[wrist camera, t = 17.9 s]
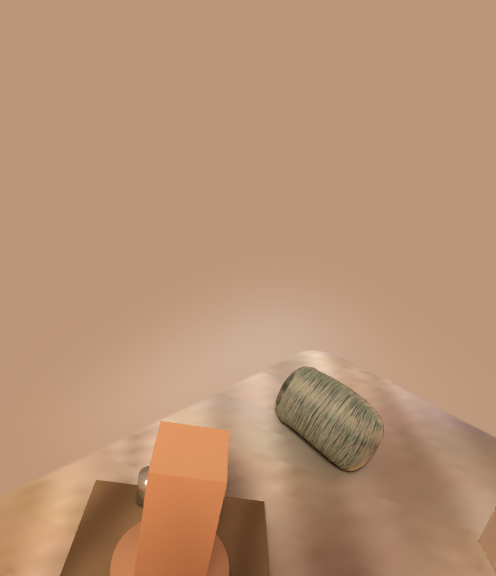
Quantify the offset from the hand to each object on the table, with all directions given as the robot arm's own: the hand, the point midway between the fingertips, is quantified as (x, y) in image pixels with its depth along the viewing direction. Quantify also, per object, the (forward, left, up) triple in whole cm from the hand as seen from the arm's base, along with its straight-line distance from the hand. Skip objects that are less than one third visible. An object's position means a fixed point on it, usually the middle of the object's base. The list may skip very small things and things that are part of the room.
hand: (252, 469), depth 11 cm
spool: (-15, -37, -28) cm, 49 cm away
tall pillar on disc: (+1, -16, -27) cm, 31 cm away
